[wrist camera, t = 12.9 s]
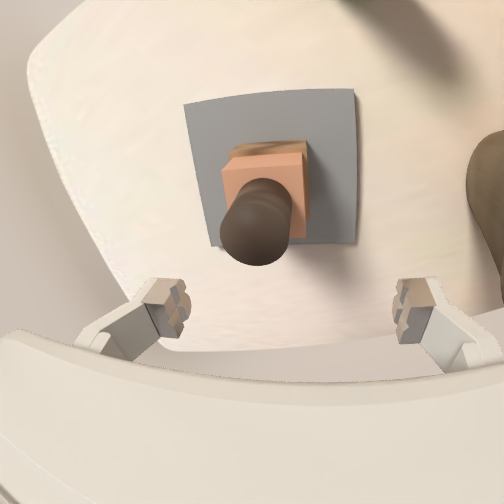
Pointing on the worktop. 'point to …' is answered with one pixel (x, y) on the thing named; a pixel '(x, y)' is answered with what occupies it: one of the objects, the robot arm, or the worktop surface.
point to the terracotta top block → (273, 167)
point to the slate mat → (279, 129)
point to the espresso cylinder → (258, 223)
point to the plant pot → (489, 194)
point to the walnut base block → (278, 148)
